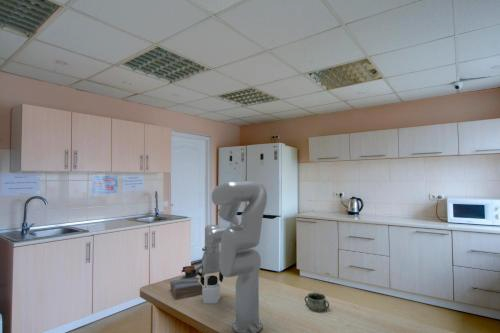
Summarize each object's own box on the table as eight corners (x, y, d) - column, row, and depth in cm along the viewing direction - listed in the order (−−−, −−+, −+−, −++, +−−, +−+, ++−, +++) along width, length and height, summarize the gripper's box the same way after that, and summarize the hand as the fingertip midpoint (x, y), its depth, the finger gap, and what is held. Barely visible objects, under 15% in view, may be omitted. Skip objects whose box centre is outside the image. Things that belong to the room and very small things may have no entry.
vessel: (301, 310, 132) (300, 296, 133) (308, 302, 140) (307, 289, 140) (326, 316, 126) (326, 302, 126) (332, 308, 133) (332, 295, 134)
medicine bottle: (220, 297, 146) (220, 274, 147) (217, 304, 139) (217, 279, 140) (206, 297, 147) (206, 274, 147) (203, 303, 140) (202, 279, 140)
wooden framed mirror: (202, 294, 151) (202, 284, 151) (175, 299, 145) (175, 289, 145) (195, 285, 163) (195, 276, 163) (170, 289, 157) (170, 280, 157)
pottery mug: (177, 280, 170) (178, 266, 175) (185, 282, 178) (186, 269, 182) (195, 278, 168) (196, 263, 172) (203, 280, 175) (203, 266, 180)
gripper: (197, 253, 139) (197, 288, 138) (230, 249, 146) (230, 282, 146) (193, 249, 145) (193, 283, 145) (225, 245, 153) (225, 277, 153)
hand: (211, 282), depth 146 cm, fingers open, 9 cm apart
